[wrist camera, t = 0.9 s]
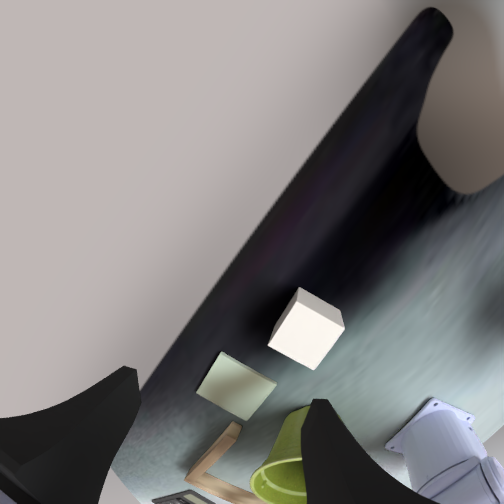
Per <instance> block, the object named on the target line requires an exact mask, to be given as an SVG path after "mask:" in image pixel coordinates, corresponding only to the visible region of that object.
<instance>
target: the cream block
mask: <svg viewBox="0 0 504 504" xmlns="http://www.w3.org/2000/svg"><path fill="white" fill-rule="evenodd" d="M344 329H345V327H344V323H343V320H342V316H341V313H340V310H338V309H337V308H335V307H333V306H331V305H330V304H328V303H326V302H324V301H323V300H321V299H319V298H317V297H316V296H314V295H312V294H310V293H309V292H307V291H305V290H304V289H302V288H300V287H299V288H298V290H297V291H296V293H295V294H294V296H293V298H292V299H291V301H290V302H289V304H288V306H287V307H286V309H285V310H284V312H283V314H282V315H281V317H280V318H279V320H278V321H277V323H276V325H275V327H274V329H273V332H272V335H271V338H270V341H269V343H268V346H270V347H271V348H273V349H275V350H277V351H279V352H280V353H282V354H284V355H286V356H288V357H290V358H292V359H293V360H295V361H297V362H299V363H301V364H303V365H305V366H307V367H309V368H310V369H312V370H315V368H316V367H317V366H318V364H319V363H320V362H321V361H322V359H323V358H324V357H325V355H326V354H327V353H328V351H329V350H330V349H331V347H332V346H333V345H334V343H335V342H336V340H337V339H338V338H339V336H340V335H341V333H342V332H343V331H344Z"/></svg>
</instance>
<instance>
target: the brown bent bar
mask: <svg viewBox="0 0 504 504" xmlns="http://www.w3.org/2000/svg"><path fill="white" fill-rule="evenodd" d="M276 385H277V382H275V381H273V380H271V379H269V378H267V377H265V376H264V375H262V374H260V373H258V372H256V371H255V370H253V369H251V368H249V367H247V366H246V365H244V364H242V363H240V362H239V361H237V360H235V359H234V358H232V357H230V356H228V355H227V354H225V353H223V352H221V353H220V355H219V356H218V358H217V360H216V361H215V363H214V365H213V366H212V368H211V369H210V371H209V373H208V374H207V376H206V378H205V379H204V381H203V383H202V384H201V386H200V387H199V389H198V391H197V392H196V393H197V394H199V395H201V396H202V397H204V398H206V399H207V400H209V401H211V402H213V403H214V404H216V405H218V406H220V407H221V408H223V409H225V410H227V411H228V412H230V413H232V414H234V415H236V416H238V417H240V418H242V419H244V420H245V421H247V420H248V419H249V418H250V417H251V416H252V414H253V413H254V412H255V411H256V410H257V409H258V407H259V406H260V405H261V404H262V403H263V401H264V400H265V399H266V398H267V396H268V395H269V394H270V393H271V391H272V390H273V389H274V388H275V386H276ZM241 428H242V426H241V425H239V424H237V423H235V422H233V421H232V422H231V424H230V425H229V426H228V427H227V428H226V430H225V431H224V432H223V433H222V434H221V435H220V437H219V438H218V439H217V440H216V441H215V442H214V443H213V445H212V446H211V447H210V448H209V449H208V450H207V451H206V452H205V453H204V455H203V456H202V457H201V458H200V459H199V460H198V461H197V462H196V463H195V464H194V465H193V466H192V467H191V469H190V470H189V472H188V473H187V475H186V477H185V479H184V481H186V482H188V483H190V484H192V485H194V486H196V487H198V488H200V489H202V490H204V491H206V492H208V493H210V494H213V495H215V496H217V497H219V498H222V499H224V500H226V501H229V502H231V503H234V504H268V503H266V502H264V501H262V500H261V499H259V498H258V497H257V496H256V495H255V494H253V493H250V492H248V491H245V490H243V489H240V488H238V487H235V486H233V485H231V484H228V483H226V482H224V481H222V480H220V479H218V478H215V477H213V476H211V475H209V474H207V473H205V472H206V471H207V470H208V469H209V468H210V467H211V466H212V465H213V464H214V463H215V462H216V461H217V460H218V459H219V458H220V457H221V456H222V455H223V454H224V453H225V452H226V451H227V450H228V449H229V448H230V447H231V446H232V445H233V444H234V443H235V442H236V441H237V438H238V436H239V433H240V431H241Z"/></svg>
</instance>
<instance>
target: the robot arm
mask: <svg viewBox="0 0 504 504" xmlns="http://www.w3.org/2000/svg"><path fill="white" fill-rule="evenodd" d="M435 403H436V404H435ZM140 405H141V397H140V391H139V384H138V377H137V370H136V369H133V368H130V367H126V366H123V367H121V368H119V369H118V370H116V371H115V372H114V373H112V374H111V375H109V376H107V377H106V378H104V379H103V380H101V381H100V382H98V383H96V384H95V385H93V386H92V387H90V388H88V389H87V390H85V391H84V392H82V393H80V394H78V395H76V396H74V397H73V398H70V399H69V400H67V401H65V402H62V403H60V404H58V405H55V406H52V407H50V408H47V409H44V410H41V411H37V412H34V413H31V414H27V415H21V416H16V417H9V418H0V504H98V502H99V498H100V494H101V491H102V488H103V485H104V482H105V479H106V476H107V474H108V471H109V468H110V466H111V463H112V461H113V459H114V457H115V455H116V453H117V452H118V450H119V448H120V446H121V444H122V443H123V441H124V439H125V437H126V435H127V434H128V432H129V430H130V428H131V426H132V424H133V422H134V420H135V418H136V415H137V413H138V410H139V407H140ZM474 420H475V416H474V415H472V414H470V413H467V412H465V411H463V410H461V409H458V408H456V407H454V406H451V405H449V404H447V403H445V402H443V401H440V400H438V399H436V398H432V399H430V400H429V401H428V402H427V404H426V405H425V406H424V407H423V408H422V409H421V410H420V411H419V412H418V413H417V414H416V415H415V416H414V417H413V419H412V420H411V421H410V422H409V423H408V424H407V425H406V426H405V427H404V428H403V429H401V430H400V431H399V432H398V433H397V434H396V435H395V436H394V437H393V438H392V439H391V440H390V441H389V442H388V443H386V444H385V448H386V449H388V450H391V451H394V452H398V453H401V454H403V455H404V458H405V462H406V466H407V470H408V474H409V478H410V482H411V486H412V490H411V489H409V488H408V487H406V486H405V485H403V484H402V483H400V482H399V481H398V480H396V479H395V478H394V477H392V476H391V475H389V474H388V473H387V472H386V471H385V470H383V469H382V468H381V467H380V466H379V465H378V464H377V463H376V462H375V461H374V460H373V459H372V458H371V457H370V456H369V455H368V454H367V453H366V452H365V450H364V449H363V448H362V447H361V446H360V445H359V443H358V442H357V441H356V440H355V438H354V437H353V436H352V434H351V433H350V432H349V430H348V429H347V427H346V426H345V425H344V423H343V422H342V420H341V419H340V417H339V416H338V414H337V413H336V411H335V410H334V408H333V407H332V405H331V404H330V402H329V401H328V399H313V400H312V403H311V405H310V408H309V410H308V413H307V415H306V418H305V420H304V423H303V425H302V427H301V456H302V463H303V471H304V478H305V486H306V495H307V504H504V469H503V467H502V466H501V464H500V463H499V462H498V460H497V459H496V458H495V457H488V456H487V452H486V450H485V448H484V446H483V444H482V443H481V441H480V439H479V438H478V436H477V434H476V432H475V431H474V429H473V427H472V426H471V423H472V422H473V421H474ZM392 446H393V447H392Z"/></svg>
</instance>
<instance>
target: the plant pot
mask: <svg viewBox="0 0 504 504" xmlns="http://www.w3.org/2000/svg"><path fill="white" fill-rule="evenodd" d="M309 408H310V406H306V407H304V408H302V409H300V410H297V411H294V412H292V413H290V414H289V415H288V416H287V417H286V419H285V420H284V423H283V425H282V427H281V430H280V432H279V435H278V437H277V439H276V441H275V444H274V446H273V448H272V450H271V452H270V454H269V456H268V459H267V460H265V462H264V463H263V464H262V466H260V467H259V468H258V469H257V470H255V472H254V473H253V474H252V476H251V479H250V488H251V490H252V492H253V493H254V494H255V495H256V496H257V497H258V498H259V499H261V500H262V501H264V502H266V503H268V504H307V495H306V486H305V478H304V471H303V463H302V456H301V427H302V425H303V423H304V420H305V418H306V415H307V413H308V410H309ZM338 416H339V415H338ZM340 419H341V418H340Z"/></svg>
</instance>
